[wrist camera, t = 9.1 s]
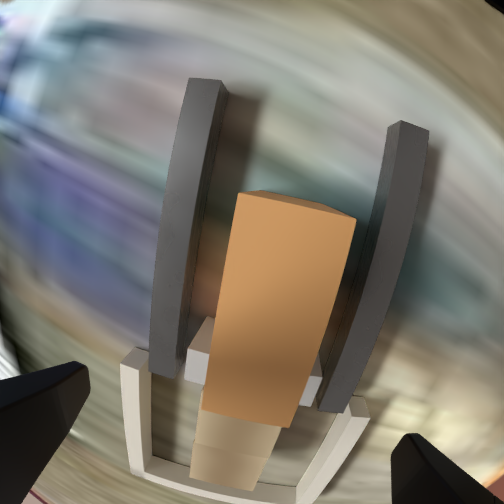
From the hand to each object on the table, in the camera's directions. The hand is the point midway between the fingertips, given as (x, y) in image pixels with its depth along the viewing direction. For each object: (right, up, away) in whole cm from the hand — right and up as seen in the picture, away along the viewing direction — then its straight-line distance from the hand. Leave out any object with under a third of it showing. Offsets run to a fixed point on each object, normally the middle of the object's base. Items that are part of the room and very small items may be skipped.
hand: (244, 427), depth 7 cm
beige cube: (0, -3, +10) cm, 10 cm away
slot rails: (+1, +4, +8) cm, 9 cm away
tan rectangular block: (+1, +4, +8) cm, 9 cm away
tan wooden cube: (-1, -7, +11) cm, 13 cm away
